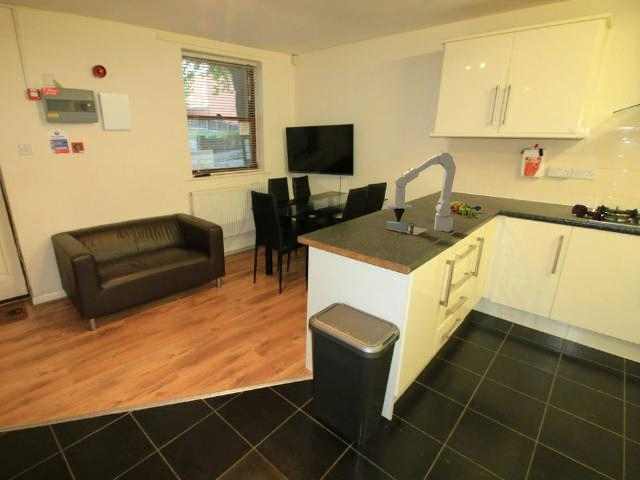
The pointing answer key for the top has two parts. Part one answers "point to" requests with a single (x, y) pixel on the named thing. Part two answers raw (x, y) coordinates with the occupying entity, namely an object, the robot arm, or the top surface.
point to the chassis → (412, 230)
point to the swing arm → (399, 225)
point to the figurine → (586, 212)
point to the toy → (462, 208)
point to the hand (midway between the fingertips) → (398, 221)
